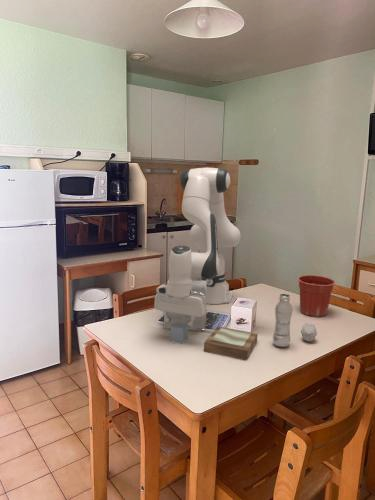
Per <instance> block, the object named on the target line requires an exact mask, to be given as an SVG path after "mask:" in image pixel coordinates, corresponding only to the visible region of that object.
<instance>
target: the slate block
mask: <svg viewBox="0 0 375 500" xmlns="http://www.w3.org/2000/svg"><path fill="white" fill-rule="evenodd" d="M188 339H189V330H188V324H185V323H179V322H176V323H175V324H174V325H172V326H171V329H170V341H171V342H174V343H177V344H178V343H179V344H184V343H185V342H187V340H188Z"/></svg>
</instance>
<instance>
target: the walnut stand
mask: <svg viewBox="0 0 375 500" xmlns="http://www.w3.org/2000/svg"><path fill="white" fill-rule="evenodd" d="M258 334H259V333H256V332H250V331H245V330H241V329H236V328H235V329H234V328H229V327H224V326H217V327H215V329H214V330H213V331H212V333H211V334H209V336H208V337H207V338H206V339H205V340H204V342H203V352H207V353H210V354H216V355H219V356H225V357H229V358H235V359H239V360H243V361H247V360H248V358H249V357H250V355H251V354H252V351H253V350H254V348H255V346H256V344H257V343H258Z"/></svg>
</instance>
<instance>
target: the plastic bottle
mask: <svg viewBox="0 0 375 500" xmlns="http://www.w3.org/2000/svg"><path fill="white" fill-rule="evenodd" d="M278 300H279V301H278V302H277V304H276V305H275V308H274V313H275V325H274V331H273V335H272V343H273V345H274V346H276V347H279V348H287V347H288V346H289V345H290V343H291V334H290V333H291V332H290V331H291V330H290V329H291V319H292V316H293V311H294V310H293V306H292V304H291V303H290V301H291V296H290V294H288V293H280V294H279V298H278Z"/></svg>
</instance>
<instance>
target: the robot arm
mask: <svg viewBox="0 0 375 500" xmlns="http://www.w3.org/2000/svg"><path fill="white" fill-rule="evenodd" d="M179 179H180V180H179V184H180V185H179V186H180V188H181V189H182V190H183V191H184V192H183V194H182V195H183V196H182V202H181V213H182V216H184V218H185V219H186V220H187V221H189V222H190V223H191V224H193V225H192V226H191V228H190V230H189V239H190V241H191V242H192V244H194V245H195V246H196V247H197V249H198V251H199V252H197V251H192V249H191V247H189V246H187V245H177V246H174V247H172V248H171V249H170V253H169V259H168V273H169V276H168V277H169V278H168V280H169V283H167V282H166V283H163V284H161V285H159V286H158V287H156V294H155V297H154V309H155V310H157V311H162V314H163V317H164V316H165V318H166V322H171V317H169V315H168V312H172V313H178V314H183V315H189V316H191V318H192V320H191V321H189V322H188V326H190V327H192V326H193V321H194V320H195V318H196V317H202V316H204V314H205V312H206V313H207V308H206V309H205V302H206V305H207V304H208V305H220V304H229V303H231V302H232V298H233V296H234V295H233V294H234V293H233V292H232V291H230V288H229V287H230V286H229V285H230V284H229V283H228V282H227V281H226V276H227V271H225V270H226V268H225V267H226V260H225V258H224V256H223V254H221V253H219V248H233V247H238V245H239V243H240V241H241V237H242V236H241V231H240V229H239V228H238V227H237V226H235V225H234V224H233V223H232V222H231V221H230V220H229V218H228V216H227V213H226V208H225V201H224V200H225V198H224V193H225V192H227V191H228V190H229V188H230V185H231V176H230V172H229V170H227V169H226V168H223V167H218V168H217V167H216V168H215V167H198V168H197V167H196V168H191V167H190V168H186V169H184V170H183V171H182V172H181V174H180V177H179ZM192 277H193V278H194V277H195V278H201V281H206V283H207V296H206V297H205V295H204V294H202V293H201V292H195V291H192Z"/></svg>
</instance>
